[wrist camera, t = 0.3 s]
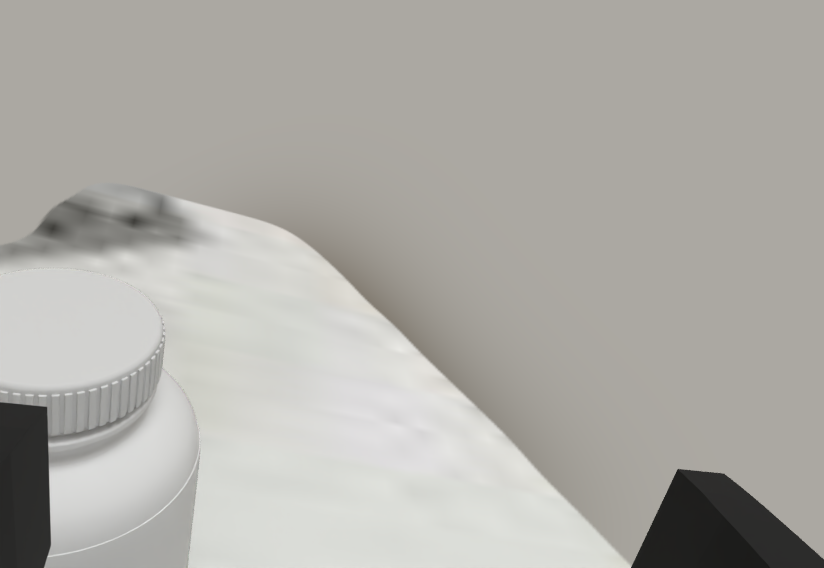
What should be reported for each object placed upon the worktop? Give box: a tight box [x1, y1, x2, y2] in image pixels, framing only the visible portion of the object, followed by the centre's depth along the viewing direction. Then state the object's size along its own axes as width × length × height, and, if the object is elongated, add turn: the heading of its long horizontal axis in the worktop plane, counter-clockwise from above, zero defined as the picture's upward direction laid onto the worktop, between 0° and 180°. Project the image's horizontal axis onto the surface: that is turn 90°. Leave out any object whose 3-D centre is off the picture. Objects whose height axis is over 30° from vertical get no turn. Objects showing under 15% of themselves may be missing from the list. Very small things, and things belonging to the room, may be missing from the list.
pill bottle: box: [0, 268, 200, 568], centre depth 23 cm, size 8×8×15 cm
